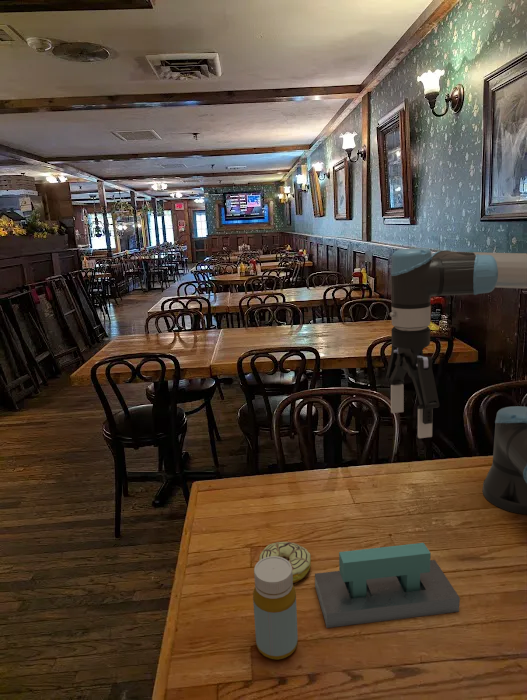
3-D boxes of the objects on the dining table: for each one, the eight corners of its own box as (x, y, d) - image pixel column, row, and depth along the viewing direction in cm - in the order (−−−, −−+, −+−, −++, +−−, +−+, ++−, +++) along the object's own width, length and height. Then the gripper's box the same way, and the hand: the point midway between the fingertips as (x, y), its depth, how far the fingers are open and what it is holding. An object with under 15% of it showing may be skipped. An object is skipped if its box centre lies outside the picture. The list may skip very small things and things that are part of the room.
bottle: (294, 665, 78) (291, 586, 74) (252, 659, 79) (247, 582, 75) (300, 629, 84) (297, 556, 80) (260, 625, 86) (256, 552, 82)
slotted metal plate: (434, 572, 96) (434, 559, 95) (458, 611, 86) (459, 597, 86) (315, 586, 94) (314, 573, 93) (326, 628, 84) (326, 613, 84)
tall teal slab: (421, 587, 92) (423, 542, 90) (428, 599, 89) (430, 553, 87) (339, 597, 91) (339, 552, 88) (343, 609, 88) (343, 563, 86)
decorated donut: (297, 547, 106) (297, 532, 105) (320, 578, 96) (319, 562, 95) (252, 560, 103) (251, 545, 102) (271, 594, 93) (270, 578, 92)
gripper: (371, 317, 109) (372, 405, 115) (420, 342, 86) (419, 451, 91) (402, 314, 110) (402, 401, 116) (460, 338, 86) (457, 446, 92)
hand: (410, 423), depth 103 cm, fingers open, 13 cm apart
